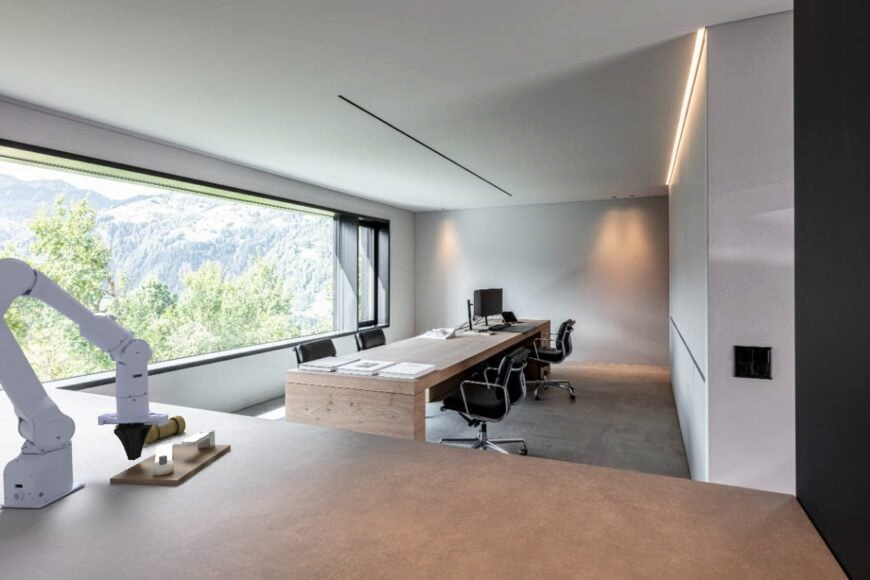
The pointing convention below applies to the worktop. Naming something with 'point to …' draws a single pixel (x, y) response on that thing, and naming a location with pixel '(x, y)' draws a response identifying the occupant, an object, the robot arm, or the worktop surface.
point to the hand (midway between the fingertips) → (134, 458)
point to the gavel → (165, 429)
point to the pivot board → (184, 466)
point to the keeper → (201, 439)
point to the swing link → (163, 460)
